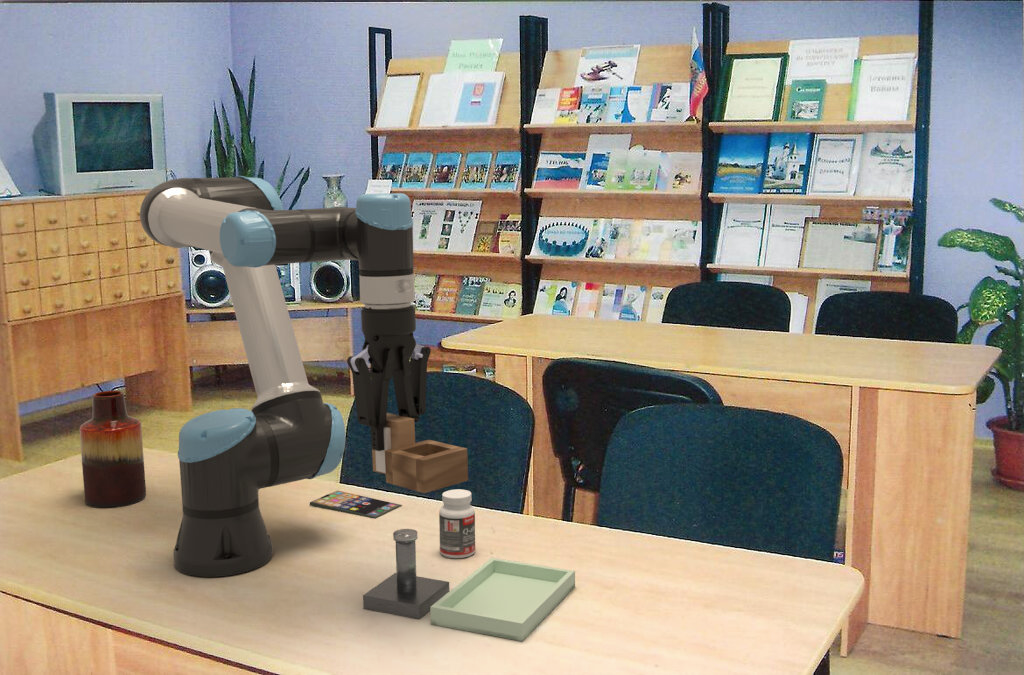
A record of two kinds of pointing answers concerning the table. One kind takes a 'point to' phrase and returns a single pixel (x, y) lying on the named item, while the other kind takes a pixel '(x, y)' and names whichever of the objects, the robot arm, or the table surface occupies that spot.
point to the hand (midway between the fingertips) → (394, 468)
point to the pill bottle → (457, 524)
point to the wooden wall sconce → (421, 459)
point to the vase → (112, 454)
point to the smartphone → (354, 504)
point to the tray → (503, 599)
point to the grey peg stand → (405, 584)
